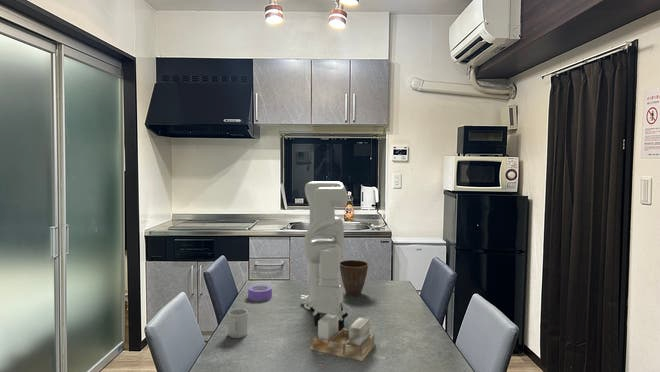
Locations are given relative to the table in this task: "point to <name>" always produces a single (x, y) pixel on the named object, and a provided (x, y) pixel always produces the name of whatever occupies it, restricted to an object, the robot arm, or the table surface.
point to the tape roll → (259, 292)
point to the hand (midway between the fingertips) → (328, 327)
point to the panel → (328, 327)
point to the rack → (348, 341)
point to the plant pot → (353, 276)
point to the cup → (238, 323)
